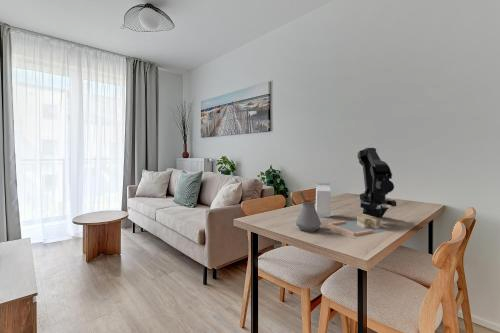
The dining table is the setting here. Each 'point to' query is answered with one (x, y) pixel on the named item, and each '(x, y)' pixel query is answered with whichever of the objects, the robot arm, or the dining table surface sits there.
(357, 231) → the board
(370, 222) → the t block
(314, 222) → the coffee pot
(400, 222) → the dining table surface
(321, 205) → the milk carton
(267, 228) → the dining table surface
